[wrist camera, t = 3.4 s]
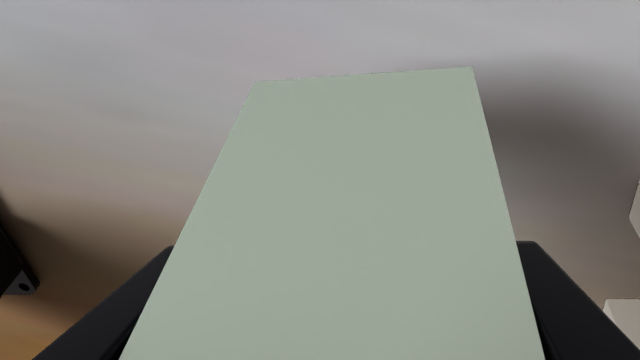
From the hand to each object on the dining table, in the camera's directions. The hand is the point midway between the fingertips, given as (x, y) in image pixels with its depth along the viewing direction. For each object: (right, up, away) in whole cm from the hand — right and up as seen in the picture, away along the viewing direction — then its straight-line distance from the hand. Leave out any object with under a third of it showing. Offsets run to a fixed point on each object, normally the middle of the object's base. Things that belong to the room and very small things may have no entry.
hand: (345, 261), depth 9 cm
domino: (+1, +3, +4) cm, 5 cm away
